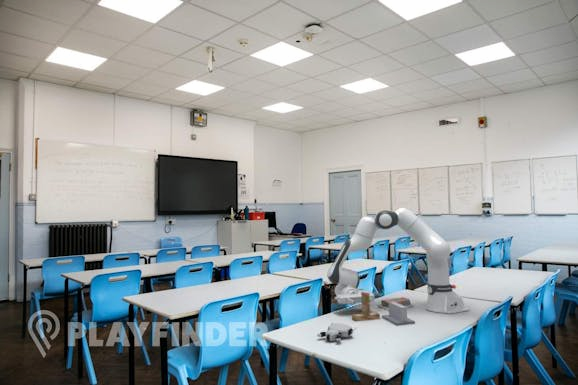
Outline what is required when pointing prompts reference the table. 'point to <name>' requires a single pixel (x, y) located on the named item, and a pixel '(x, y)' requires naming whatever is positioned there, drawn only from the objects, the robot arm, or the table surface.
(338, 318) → the table surface
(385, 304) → the packaged product
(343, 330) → the robot toy
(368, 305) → the wooden t-shaped block
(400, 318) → the ridge stand
